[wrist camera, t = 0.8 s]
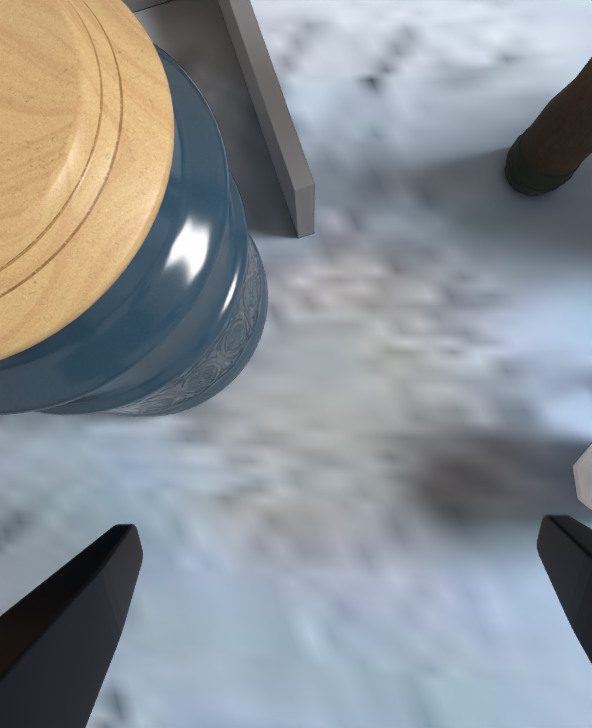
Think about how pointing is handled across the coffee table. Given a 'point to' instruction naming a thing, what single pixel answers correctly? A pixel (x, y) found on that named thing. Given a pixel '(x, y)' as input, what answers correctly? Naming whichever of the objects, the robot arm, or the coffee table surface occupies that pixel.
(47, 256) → the canister
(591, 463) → the cup
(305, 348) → the coffee table surface
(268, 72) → the corral
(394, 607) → the coffee table surface
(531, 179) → the stick grenade
